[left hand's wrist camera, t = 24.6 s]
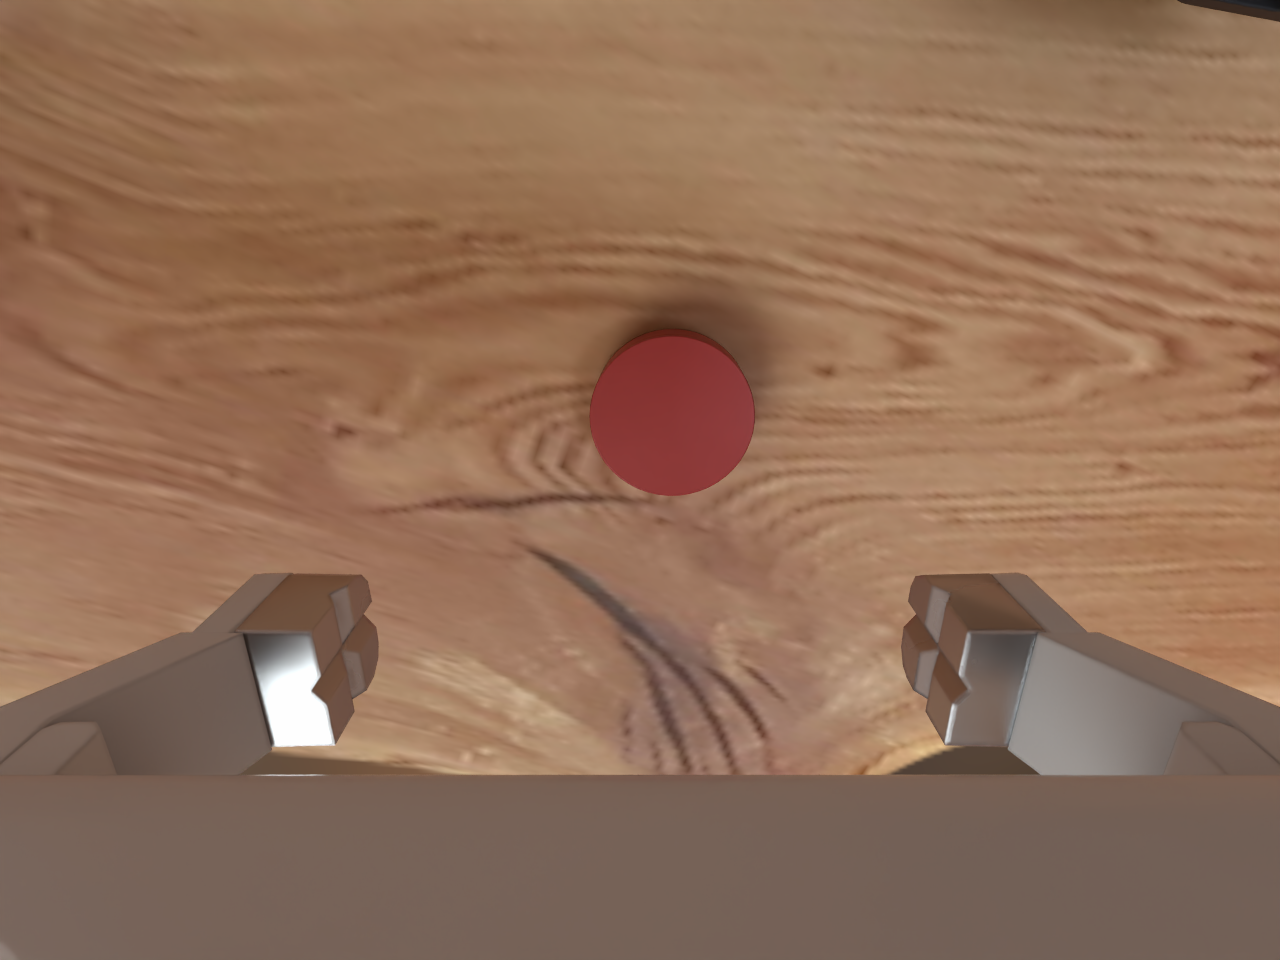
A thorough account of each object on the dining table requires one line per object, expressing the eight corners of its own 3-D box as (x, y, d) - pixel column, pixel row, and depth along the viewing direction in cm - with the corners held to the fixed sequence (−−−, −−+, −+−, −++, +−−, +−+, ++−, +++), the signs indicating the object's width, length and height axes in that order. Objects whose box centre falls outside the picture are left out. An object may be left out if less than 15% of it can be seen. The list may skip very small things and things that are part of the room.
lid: (720, 496, 25) (723, 514, 24) (577, 455, 25) (571, 470, 23) (771, 355, 24) (779, 364, 22) (618, 308, 23) (615, 313, 22)
